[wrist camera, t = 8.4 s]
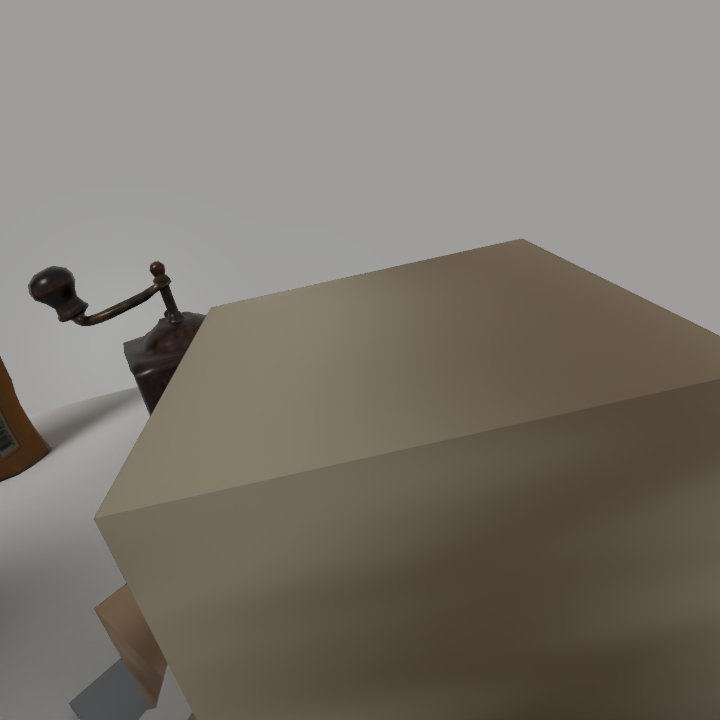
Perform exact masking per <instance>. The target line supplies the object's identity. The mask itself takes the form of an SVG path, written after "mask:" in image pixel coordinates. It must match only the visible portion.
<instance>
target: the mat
mask: <svg viewBox="0 0 720 720" xmlns="http://www.w3.org/2000/svg"><path fill="white" fill-rule="evenodd" d="M69 704H70V706H71V707H72V709H73V710H74V711H75V713H76V714H77V715H78V717H79V718H80V719H81V720H139V718H140V717H141V716H142V715H143V714H144V712H145V711H146V710H149V709H153V708H155V707H154V706H153V705H152V704H151V703H150V702H149V700H148V699H147V698H146V697H145V696H144V695H143V694H142V693H141V691H140V689H139V687H138V686H137V684H136V682H135V680H134V679H133V677H132V675H131V673H130V671H129V670H128V668H127V666H126V664H125V663H124V661H123V659H122V658H121V659H120V660H119V661H117V662H116V663H115V664H114V665H113V666H112V667H110V668H109V669H108V670H107V671H106V672H105V673H103V674H102V675H101V676H100V677H99V678H98V679H97V680H95V681H94V682H93V683H92V684H91V685H90V686H88V687H87V688H86V689H85V690H84V691H83V692H81V693H80V694H79V695H78V696H77V697H76V698H75V699H73V700H72V701H71V702H70V703H69Z"/></svg>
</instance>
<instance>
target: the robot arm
mask: <svg viewBox="0 0 720 720" xmlns="http://www.w3.org/2000/svg"><path fill="white" fill-rule="evenodd" d="M139 720H196V718H195V716H194V714H193V712H192V710H191V708H190V706H189V704H188V702H187V700H186V698H185V696H184V694H183V692H182V690H181V688H180V686H179V684H178V682H177V681H176V679H175V677H174V675H173V673H172V671H171V669H170V667H169V665H167V668H166V672H165V676H164V680H163V683H162V687H161V691H160V695H159V698H158V702H157V706H156V708H153V709H149V710H146V711H145V712H144V714H143V715H142V716H141V717H140V718H139Z"/></svg>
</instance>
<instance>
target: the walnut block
mask: <svg viewBox="0 0 720 720" xmlns="http://www.w3.org/2000/svg"><path fill="white" fill-rule="evenodd" d="M94 610H95V611H96V613H97V615H98V617H99V618H100V620H101V622H102V624H103V625H104V627H105V629H106V631H107V633H108V634H109V636H110V638H111V640H112V641H113V643H114V645H115V647H116V648H117V650H118V652H119V654H120V656H121V657H122V659H123V661H124V663H125V664H126V666H127V668H128V670H129V671H130V673H131V675H132V677H133V679H134V680H135V682H136V684H137V686H138V687H139V689H140V691H141V693H142V694H143V695H144V696H145V697H146V698H147V699H148V700H149V702H150V703H151V704H152V705H153V706H154V707H155V708H156V706H157V702H158V698H159V695H160V691H161V687H162V683H163V680H164V676H165V672H166V668H167V665H168V663H167V661H166V659H165V657H164V655H163V653H162V651H161V649H160V647H159V645H158V643H157V641H156V639H155V637H154V635H153V634H152V632H151V630H150V628H149V626H148V624H147V622H146V620H145V618H144V616H143V614H142V612H141V610H140V608H139V606H138V604H137V602H136V600H135V598H134V596H133V594H132V592H131V590H130V588H129V587H128V585H127V584H125V585H124V586H123V587H122V588H120V589H119V590H118V591H116V592H115V593H114V594H112V595H111V596H110V597H109V598H107V599H106V600H105V601H103V602H102V603H101V604H99V605H98V606H97V607H96V608H94Z"/></svg>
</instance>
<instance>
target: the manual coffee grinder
mask: <svg viewBox="0 0 720 720" xmlns="http://www.w3.org/2000/svg"><path fill="white" fill-rule="evenodd" d="M150 271H151V273H152V274H153V275H154V277H155V278H154V280H153V282H154V285H153V286H151V287H150V288H148V289H146V290H144V291H143V292H142V293H140V294H138V295H135V296H133V297H131V298H130V299H127V300H125V301H123V302H121V303H119V304H117V305H115V306H112V307H110V308H108V309H106V310H104V311H102V312H100V313H97V314H94V315H91V316H85V314H84V312H85V311H86V309H87V307H88V303H86V302H84V301H83V300H81V299H80V298H79V297H77V295H76V291H75V279H74V276H73V274H72V273H71V272H70V271H69V270H68V269H66V268H63V267H56V266H52V267H49V268H47V269H45V270H43V271H41V272H39V273H37V274H36V275H34V276H33V278H32V280H31V281H30V283H29V285H28V288H29V293H30V295H31V296H32V297H33V298H34V300H35V301H38V302H41V303H44V304H47V305H49V306H50V307H52V308H54V309H56V312H57V314H58V319H59V321H61V322H66V321H69V320H72V321H74V322H75V323H76V324H78V325H81V326H91V325H95V324H98V323H102V322H104V321H106V320H109V319H111V318H113V317H115V316H117V315H119V314H121V313H123V312H125V311H127V310H129V309H131V308H133V307H135V306H138V305H139V304H141V303H143V302H145V301H147V300H148V299H149V298H150V297H151V296H153V295H154V294H155V293H156V292H158V291H159V290H160V292H161V295H162V298H163V300H164V303H165V305H166V308H167V310H166V311H165V313H164V315H165V318H162V319H160V320H159V322H158V324H157V325H156V326H155V327H154V328H153V329H152V330H151V331H150V332H148V333H147V334H146V335H145V336H143V337H140V338H137V339H134V340H131V341H128V342H125V343H124V353H125V356H126V359H127V361H128V364H129V367H130V370H131V372H132V373H133V375H134V377H135V380H136V382H137V385H138V387H139V390H140V392H141V395H142V397H143V400H144V402H145V405H146V407H147V410H148V412H149V415H150V416H151V414H152V413H153V411H154V409H155V407H156V405H157V404H158V402H159V400H160V398H161V396H162V395H163V393H164V391H165V389H166V387H167V386H168V384H169V382H170V380H171V378H172V377H173V375H174V373H175V371H176V369H177V368H178V366H179V364H180V362H181V360H182V359H183V357H184V355H185V353H186V351H187V350H188V348H189V346H190V344H191V342H192V341H193V339H194V337H195V335H196V333H197V332H198V330H199V328H200V326H201V324H202V323H203V321H204V319H205V317H206V315H202V314H196V313H191V312H182V313H181V312H180V311H178V309H177V306H176V304H175V301H174V298H173V296H172V293H171V290H170V287H169V284H170V282H171V280H170V278H169V277H168V276H167V275H165V268H164V264H162V263H160V262H159V261H158V262H153V263H152V264H151V265H150Z"/></svg>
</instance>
